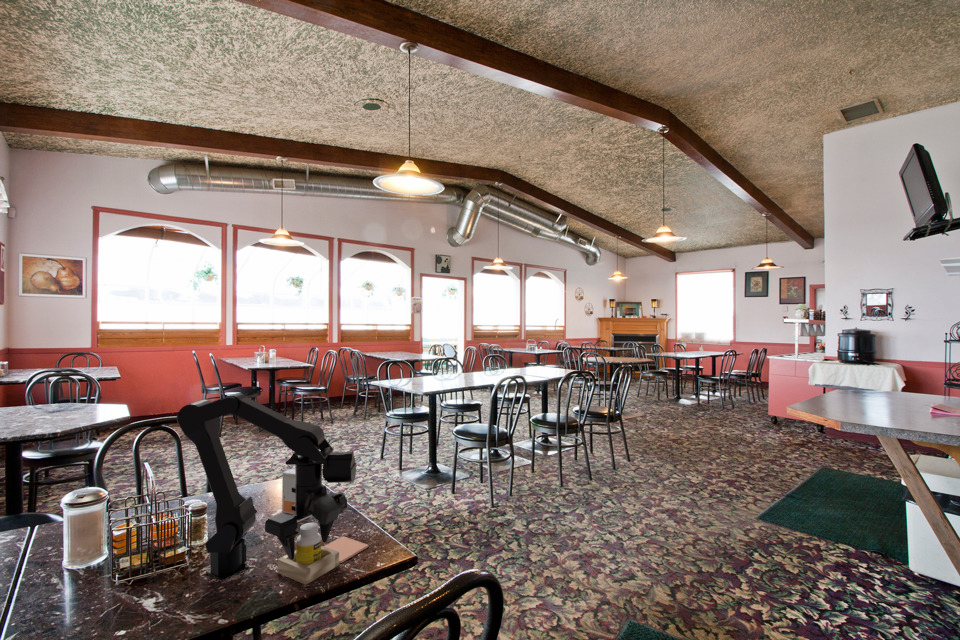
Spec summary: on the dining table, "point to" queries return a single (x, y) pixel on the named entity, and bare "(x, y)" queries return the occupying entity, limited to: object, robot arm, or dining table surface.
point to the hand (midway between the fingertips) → (308, 550)
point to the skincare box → (288, 491)
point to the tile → (346, 547)
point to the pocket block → (310, 572)
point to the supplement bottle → (308, 545)
